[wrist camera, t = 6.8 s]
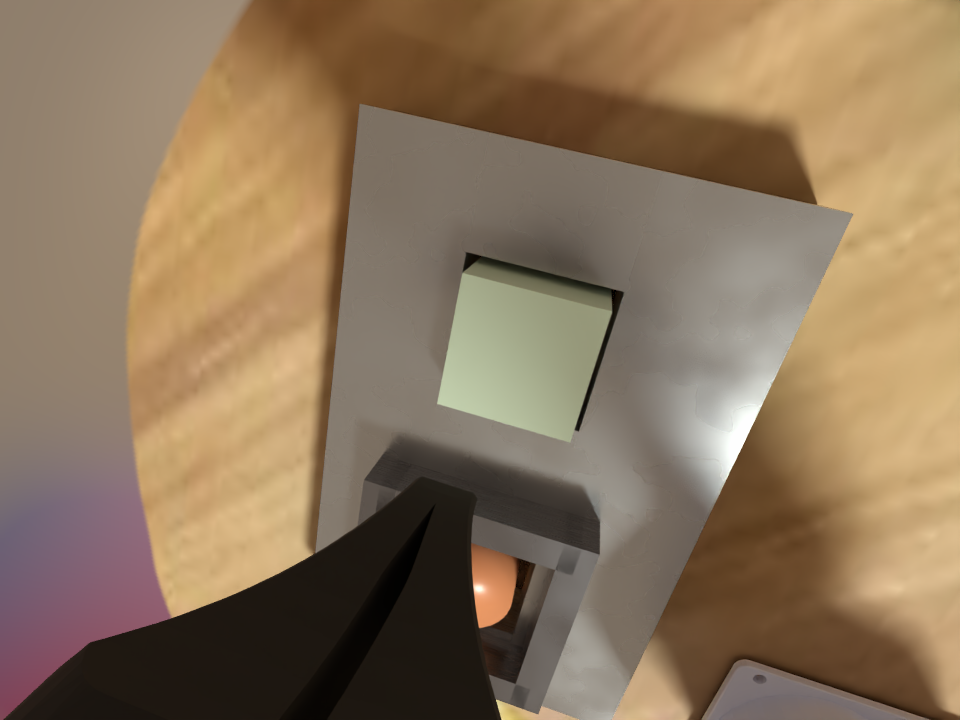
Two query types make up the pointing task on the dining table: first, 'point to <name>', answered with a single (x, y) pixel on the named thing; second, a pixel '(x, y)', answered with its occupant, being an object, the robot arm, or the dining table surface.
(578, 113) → the dining table surface
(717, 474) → the control box
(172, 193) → the dining table surface
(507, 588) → the button
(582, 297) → the pale green block
